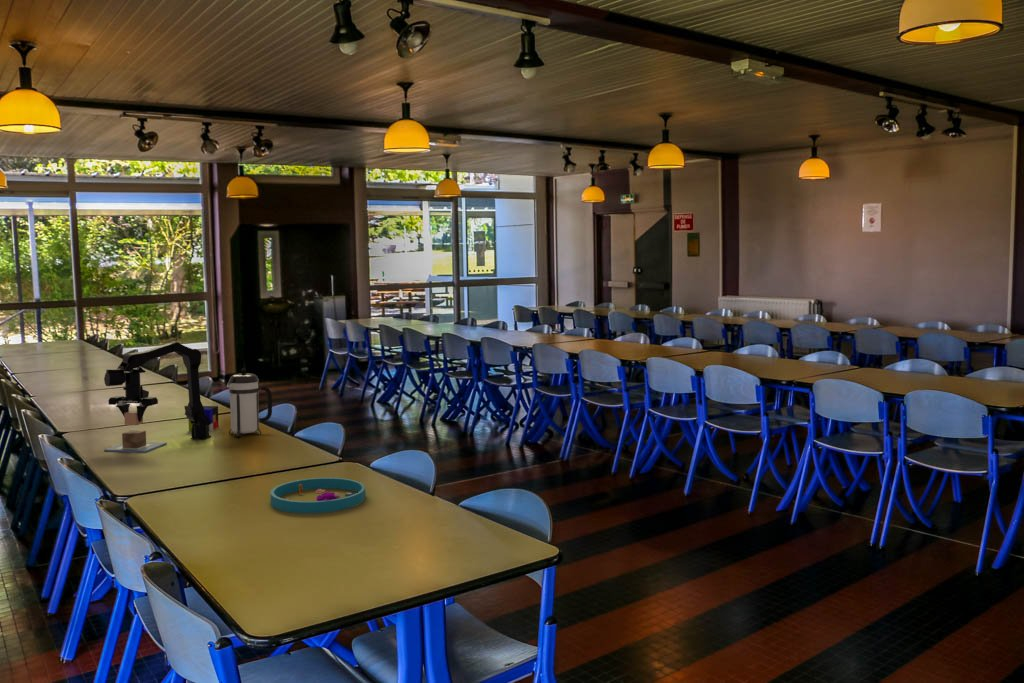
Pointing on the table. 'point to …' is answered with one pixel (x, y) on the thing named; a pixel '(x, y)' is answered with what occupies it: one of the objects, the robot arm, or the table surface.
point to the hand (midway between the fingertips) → (133, 421)
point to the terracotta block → (132, 418)
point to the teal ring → (324, 501)
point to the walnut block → (134, 439)
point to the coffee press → (246, 403)
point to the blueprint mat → (143, 449)
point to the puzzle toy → (210, 417)
